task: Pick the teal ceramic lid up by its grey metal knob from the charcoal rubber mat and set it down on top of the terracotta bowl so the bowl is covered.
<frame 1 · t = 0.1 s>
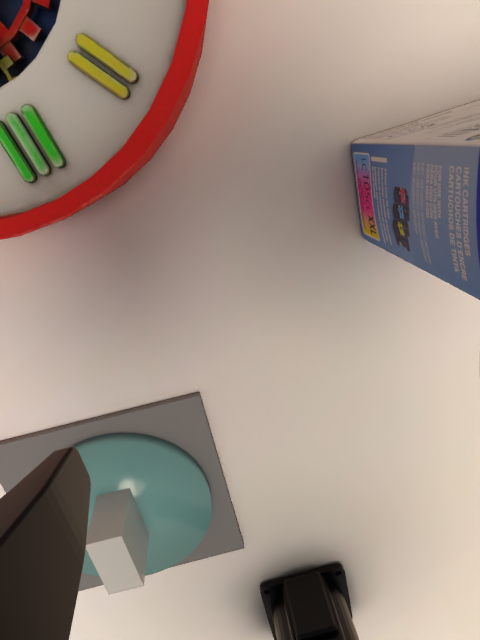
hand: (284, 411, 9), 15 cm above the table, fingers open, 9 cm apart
ink cartridge box: (439, 168, 23), on the table
lid: (125, 503, 27), resting on mat
mat: (126, 498, 28), on the table
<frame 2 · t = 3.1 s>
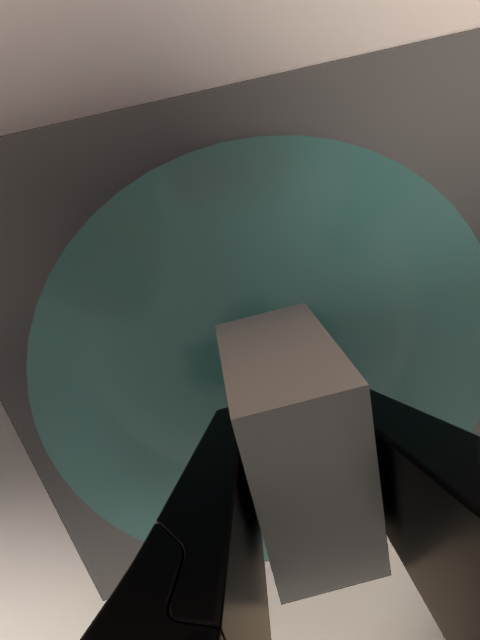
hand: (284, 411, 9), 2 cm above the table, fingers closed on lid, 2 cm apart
lid: (268, 370, 11), resting on mat, touching gripper
mat: (265, 363, 11), on the table
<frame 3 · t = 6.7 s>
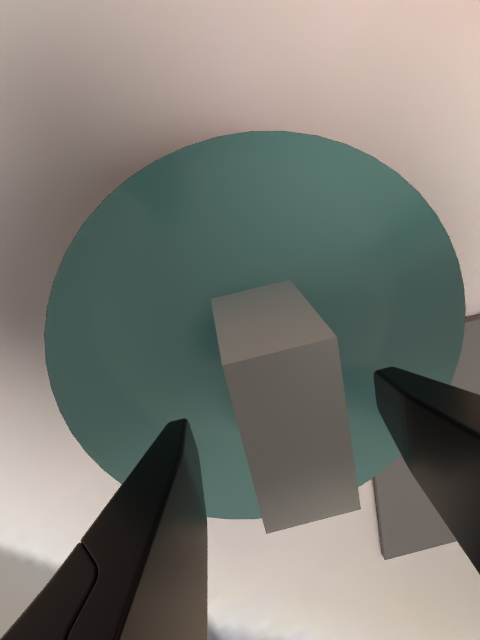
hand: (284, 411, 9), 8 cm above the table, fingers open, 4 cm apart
lid: (259, 343, 12), point 5 cm above the table, touching bowl
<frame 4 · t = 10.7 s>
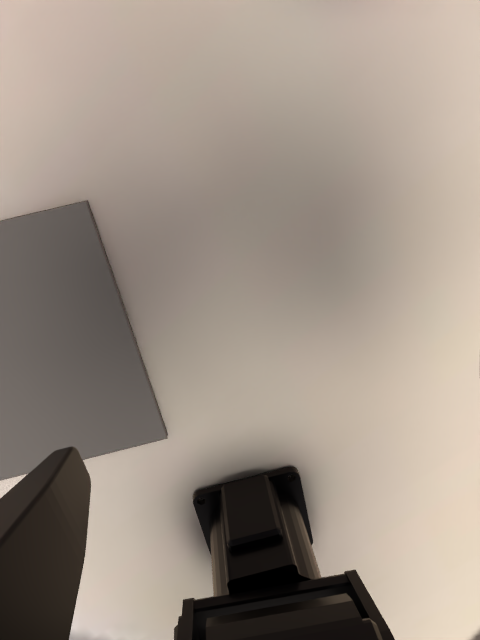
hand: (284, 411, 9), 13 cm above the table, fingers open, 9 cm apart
mat: (4, 361, 21), on the table
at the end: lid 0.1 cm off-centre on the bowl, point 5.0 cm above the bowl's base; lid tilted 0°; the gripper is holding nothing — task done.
